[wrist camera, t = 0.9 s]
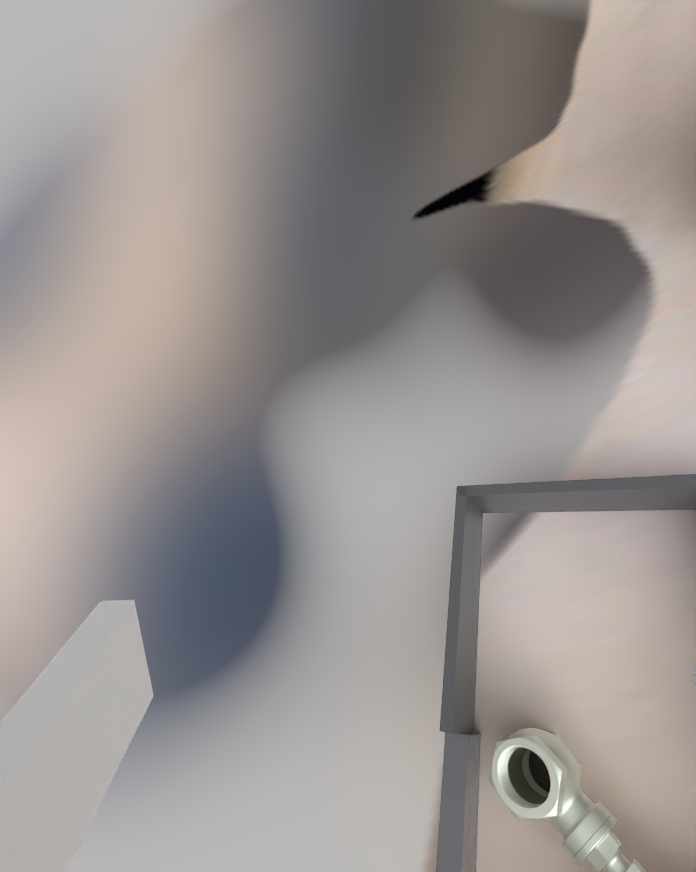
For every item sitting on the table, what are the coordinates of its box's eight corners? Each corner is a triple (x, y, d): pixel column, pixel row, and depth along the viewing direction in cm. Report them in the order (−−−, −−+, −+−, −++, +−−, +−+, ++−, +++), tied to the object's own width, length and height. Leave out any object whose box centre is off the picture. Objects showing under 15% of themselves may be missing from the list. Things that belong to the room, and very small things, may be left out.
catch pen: (744, 496, 29) (751, 471, 26) (817, 820, 22) (838, 835, 19) (473, 504, 38) (457, 486, 36) (461, 730, 31) (439, 730, 28)
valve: (489, 773, 29) (683, 1031, 21) (453, 783, 25) (684, 1120, 16) (557, 698, 29) (778, 926, 21) (533, 693, 25) (807, 985, 16)
